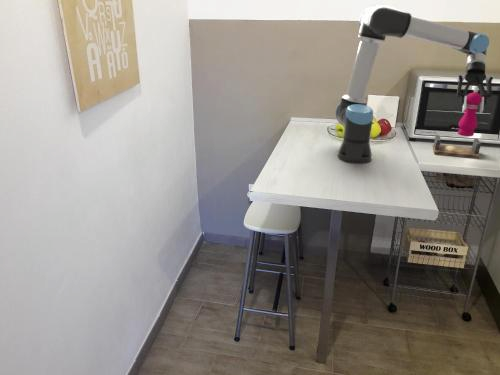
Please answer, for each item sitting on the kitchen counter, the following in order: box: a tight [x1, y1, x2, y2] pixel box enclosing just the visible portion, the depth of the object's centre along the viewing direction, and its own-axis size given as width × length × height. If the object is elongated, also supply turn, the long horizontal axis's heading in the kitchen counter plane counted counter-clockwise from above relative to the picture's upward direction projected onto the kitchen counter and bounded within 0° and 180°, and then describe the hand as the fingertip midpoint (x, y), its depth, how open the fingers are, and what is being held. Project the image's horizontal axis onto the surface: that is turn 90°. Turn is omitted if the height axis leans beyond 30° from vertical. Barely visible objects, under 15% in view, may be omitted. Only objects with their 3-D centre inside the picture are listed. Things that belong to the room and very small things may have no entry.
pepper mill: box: [457, 88, 482, 137], centre depth 175 cm, size 7×7×20 cm
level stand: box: [431, 134, 482, 160], centre depth 192 cm, size 19×12×6 cm, turn 71°
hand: (472, 111), depth 171 cm, fingers closed on pepper mill, 6 cm apart
